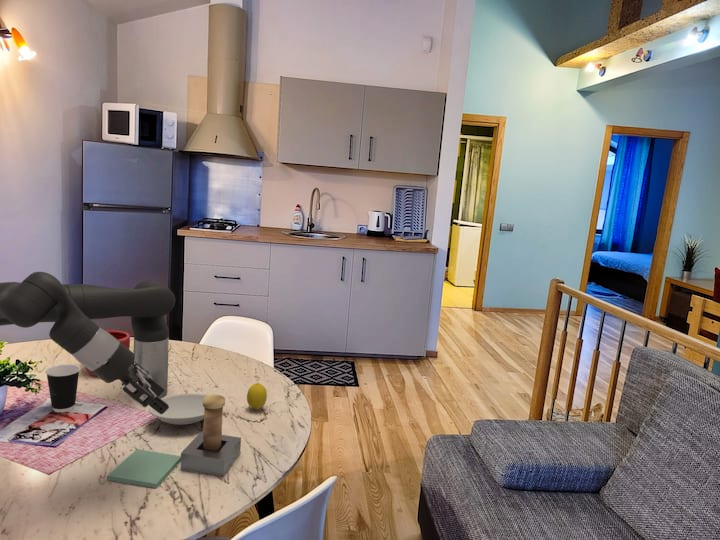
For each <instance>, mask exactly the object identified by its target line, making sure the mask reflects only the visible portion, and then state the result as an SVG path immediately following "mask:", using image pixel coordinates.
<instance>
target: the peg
mask: <svg viewBox="0 0 720 540" xmlns="http://www.w3.org/2000/svg"><path fill="white" fill-rule="evenodd" d="M225 405H226V397H224V395H221V394H211V395H210V394H209V396H206V397H204V398H203V407H204V419H203V431H202V432H203V450H205V451H211V452H217V453H219V451H220V450H221V438H222V435H223V434H222V433H223V432H222V431H223V409H224V407H225Z"/></svg>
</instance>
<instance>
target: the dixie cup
mask: <svg viewBox="0 0 720 540" xmlns="http://www.w3.org/2000/svg"><path fill="white" fill-rule="evenodd" d="M80 370H81V366H79V365H78V364H72V363H62V364H55V365H52V366H50V367H48V368H47V369H45V374H46V379H47V384H48V391H49V398H50V404H51V408H52V411H53V410H54V411H55V413H59V412H62V413H67V412H70V411H72V410H74V408H75V405H76V399H77V392H78V391H77V390H78V383H79V374H80ZM54 411H53V412H54Z"/></svg>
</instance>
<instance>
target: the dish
mask: <svg viewBox="0 0 720 540" xmlns="http://www.w3.org/2000/svg"><path fill="white" fill-rule="evenodd" d="M209 395H210V394H209ZM209 395H208V394H204V393H178V394H173V395H168V396H167V395H166V396H164V397H162V398H160V399H162V400H163V401H164V402H165V403H167V404H168V406H169V408H168V409H167V410H166V411H165V412H164V413H163V414H160V413H158V412H157V411H156V410H154V409H153V408H152V407H151V406H149V405H148V413H150V414H151V415H152V416H155V417H156V418H158V419H159V420H160V421H162V422H163V423H164V422H165V423H167V424H170V425H177V426H179V425H180V426H181V425H191V424H194V423H198V422H200V421H204V407H203V398H204V397H206V396H209Z"/></svg>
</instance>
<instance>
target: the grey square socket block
mask: <svg viewBox="0 0 720 540" xmlns="http://www.w3.org/2000/svg"><path fill="white" fill-rule="evenodd" d="M203 432H204V431H200V432H199V433H198V434H197V435H196V436H195V438H194V439H193V440H192V441H191V442H189V444H188V445H187V446H186V447H185V448H184V449H183V450H182V451H181V452H180V456H181V462H180V470H181V471H185V472H187V471H188V472H192V473H198V474H204V475H211V476H216V477H217V476H218V477H225V475H226V474H227V473H228V471H229V470H230V468H231V467H232V466H233V464H234V463H235V461H236V460H237V459H238V457H239V456H240V454H241V450H242V449H241V447H242V446H241V444H242V437H239V436H233V435H227V434H222V438H221V450H220V451H219V453H217V452H211V451H205V450H203Z"/></svg>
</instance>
